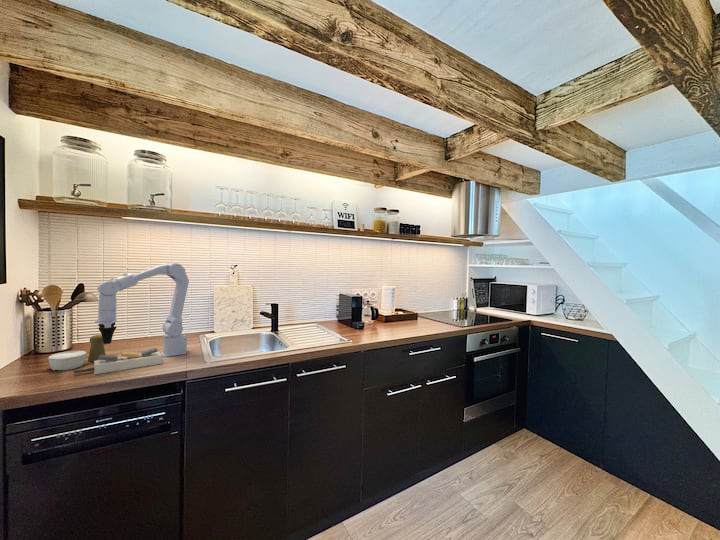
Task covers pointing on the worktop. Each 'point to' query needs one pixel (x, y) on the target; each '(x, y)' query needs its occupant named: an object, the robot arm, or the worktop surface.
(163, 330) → the robot arm
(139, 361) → the rocker switch panel
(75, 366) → the ramekin
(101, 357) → the block
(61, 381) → the worktop surface
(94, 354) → the olive-brown rounded piece
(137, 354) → the rocker middle
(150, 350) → the block
